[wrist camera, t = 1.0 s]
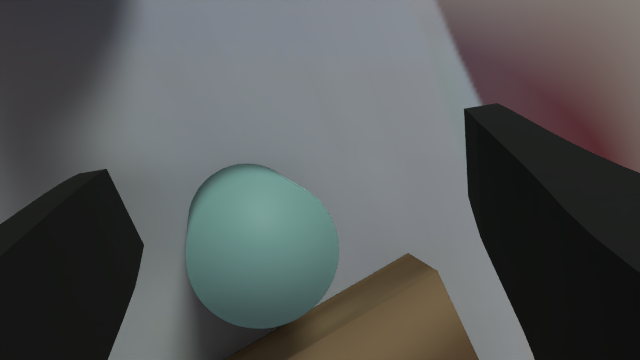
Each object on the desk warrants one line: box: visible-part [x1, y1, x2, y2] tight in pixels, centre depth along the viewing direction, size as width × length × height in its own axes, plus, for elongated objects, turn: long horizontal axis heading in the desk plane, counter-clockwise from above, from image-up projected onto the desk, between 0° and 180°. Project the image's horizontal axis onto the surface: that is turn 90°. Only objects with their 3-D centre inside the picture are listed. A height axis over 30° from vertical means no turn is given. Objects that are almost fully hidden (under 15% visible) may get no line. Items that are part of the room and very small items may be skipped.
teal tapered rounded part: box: [186, 164, 339, 329], centre depth 20 cm, size 5×5×6 cm
